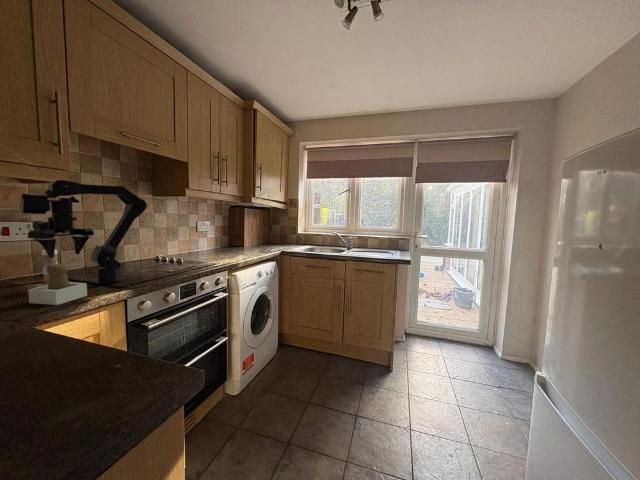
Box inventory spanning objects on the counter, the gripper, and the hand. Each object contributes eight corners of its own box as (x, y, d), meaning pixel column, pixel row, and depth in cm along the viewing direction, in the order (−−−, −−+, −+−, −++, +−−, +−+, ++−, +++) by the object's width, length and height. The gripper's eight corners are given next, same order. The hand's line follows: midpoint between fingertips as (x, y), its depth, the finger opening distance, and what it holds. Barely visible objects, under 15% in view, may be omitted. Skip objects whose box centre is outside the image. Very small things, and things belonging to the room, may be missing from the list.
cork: (47, 300, 86) (45, 266, 85) (46, 296, 90) (43, 264, 89) (73, 296, 90) (71, 264, 89) (70, 292, 94) (68, 262, 93)
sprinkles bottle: (43, 283, 108) (41, 250, 107) (44, 281, 112) (42, 249, 111) (58, 281, 112) (56, 250, 110) (59, 279, 115) (57, 248, 114)
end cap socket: (62, 294, 96) (61, 281, 95) (87, 295, 94) (86, 283, 94) (29, 303, 86) (28, 289, 85) (56, 304, 85) (55, 291, 84)
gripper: (69, 214, 108) (71, 251, 110) (11, 213, 90) (15, 258, 91) (93, 214, 107) (95, 253, 109) (40, 214, 89) (44, 260, 90)
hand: (64, 256), depth 100 cm, fingers open, 9 cm apart
